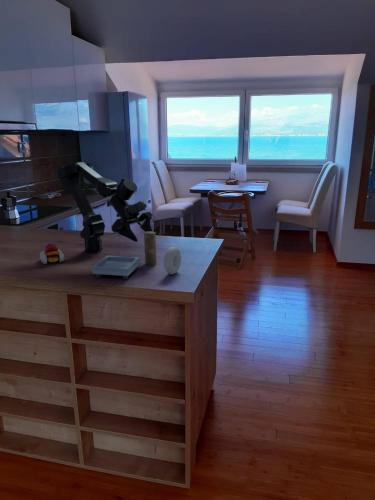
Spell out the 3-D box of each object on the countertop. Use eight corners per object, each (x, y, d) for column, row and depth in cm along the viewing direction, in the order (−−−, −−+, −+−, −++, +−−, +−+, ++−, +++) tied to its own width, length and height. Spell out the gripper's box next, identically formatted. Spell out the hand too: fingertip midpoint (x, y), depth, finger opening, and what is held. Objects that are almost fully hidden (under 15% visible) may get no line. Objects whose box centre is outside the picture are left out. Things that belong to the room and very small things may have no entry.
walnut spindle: (143, 265, 148) (142, 233, 145) (147, 261, 152) (145, 231, 149) (154, 266, 147) (153, 234, 144) (157, 262, 151) (156, 231, 148)
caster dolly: (93, 277, 136) (92, 266, 134) (107, 266, 148) (107, 255, 147) (128, 280, 133) (127, 268, 132) (140, 268, 145) (139, 257, 144)
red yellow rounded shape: (42, 266, 148) (40, 248, 146) (39, 259, 157) (37, 242, 154) (65, 263, 152) (63, 245, 150) (61, 256, 160) (59, 239, 158)
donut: (174, 268, 144) (174, 243, 141) (182, 270, 143) (182, 244, 140) (162, 277, 136) (161, 250, 133) (170, 278, 134) (170, 251, 131)
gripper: (114, 197, 139) (139, 231, 136) (148, 191, 154) (171, 221, 151) (101, 216, 146) (124, 249, 143) (134, 209, 161) (156, 238, 158)
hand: (144, 238), depth 148 cm, fingers open, 9 cm apart
